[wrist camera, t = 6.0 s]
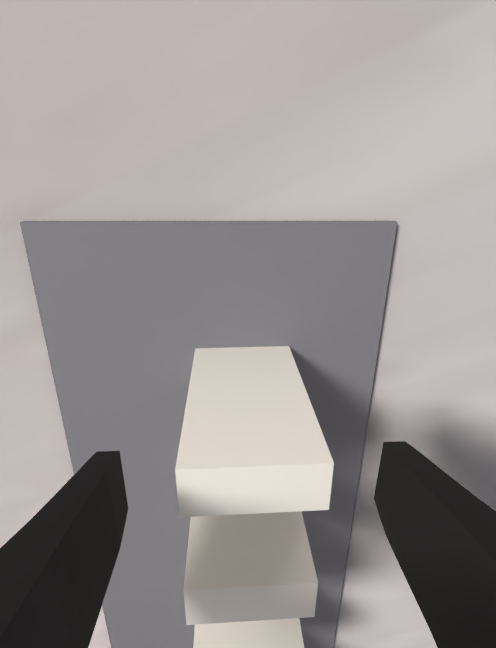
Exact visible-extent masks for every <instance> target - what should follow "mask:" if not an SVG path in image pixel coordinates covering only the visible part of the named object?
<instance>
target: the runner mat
mask: <svg viewBox="0 0 496 648" xmlns="http://www.w3.org/2000/svg"><path fill="white" fill-rule="evenodd" d="M20 224H21V229H22V234H23V238H24V243H25V248H26V252H27V257H28V262H29V266H30V271H31V276H32V280H33V285H34V289H35V294H36V299H37V303H38V308H39V313H40V317H41V322H42V327H43V331H44V336H45V341H46V345H47V350H48V355H49V359H50V364H51V369H52V373H53V378H54V383H55V387H56V392H57V397H58V401H59V406H60V411H61V415H62V420H63V424H64V429H65V434H66V438H67V443H68V448H69V452H70V457H71V462H72V466H73V471H74V474H75V473H76V472H77V471H78V470H79V469H80V468H81V467H82V466H83V465H84V464H85V463H86V462H87V461H88V460H89V459H90V458H91V457H92V455H94V454H95V453H96V452H99V451H120V456H121V463H122V470H123V476H124V483H125V490H126V496H127V503H128V513H127V518H126V523H125V528H124V533H123V537H122V542H121V546H120V550H119V553H118V557H117V560H116V563H115V566H114V569H113V572H112V575H111V579H110V582H109V585H108V588H107V591H106V594H105V597H104V600H103V603H102V606H103V611H104V615H105V620H106V625H107V629H108V634H109V639H110V643H111V648H193V644H194V628H195V625H186V615H185V603H184V592H183V590H184V580H185V569H186V559H187V549H188V539H189V528H190V518H191V517H179V508H178V497H177V486H176V475H175V467H176V461H177V455H178V449H179V443H180V437H181V431H182V425H183V419H184V413H185V407H186V401H187V395H188V389H189V383H190V377H191V371H192V365H193V359H194V353H195V348H230V347H271V346H289V347H290V350H291V352H292V355H293V358H294V360H295V363H296V365H297V368H298V371H299V373H300V376H301V378H302V381H303V384H304V386H305V389H306V391H307V394H308V397H309V399H310V402H311V404H312V407H313V410H314V412H315V415H316V417H317V420H318V423H319V425H320V428H321V430H322V433H323V436H324V438H325V441H326V444H327V446H328V449H329V451H330V454H331V457H332V459H333V462H334V468H333V477H332V486H331V495H330V504H329V510H317V511H302V515H303V520H304V524H305V528H306V532H307V537H308V541H309V545H310V550H311V554H312V558H313V563H314V567H315V571H316V576H317V580H318V589H317V598H316V607H315V616H314V617H308V618H299V619H300V625H301V631H302V637H303V643H304V648H333V647H334V640H335V634H336V627H337V620H338V614H339V607H340V600H341V594H342V587H343V580H344V574H345V567H346V560H347V554H348V547H349V540H350V534H351V527H352V520H353V514H354V507H355V500H356V494H357V487H358V480H359V474H360V467H361V460H362V454H363V447H364V440H365V434H366V427H367V420H368V414H369V407H370V400H371V394H372V387H373V380H374V374H375V367H376V360H377V354H378V347H379V340H380V334H381V327H382V321H383V314H384V307H385V301H386V294H387V287H388V281H389V274H390V267H391V261H392V254H393V247H394V241H395V234H396V227H397V222H396V221H23V222H20Z"/></svg>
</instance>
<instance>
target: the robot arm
mask: <svg viewBox="0 0 496 648" xmlns="http://www.w3.org/2000/svg"><path fill="white" fill-rule="evenodd" d="M374 500H375V503H376V506H377V509H378V512H379V516H380V519H381V522H382V524H383V527H384V530H385V533H386V536H387V538H388V540H389V543H390V545H391V547H392V549H393V551H394V554H395V556H396V558H397V560H398V562H399V564H400V567H401V569H402V571H403V573H404V575H405V577H406V579H407V582H408V584H409V586H410V588H411V590H412V592H413V594H414V596H415V599H416V601H417V603H418V605H419V607H420V609H421V611H422V613H423V616H424V618H425V620H426V622H427V624H428V626H429V628H430V631H431V633H432V635H433V638H434V640H435V642H436V645H437V647H438V648H496V511H494V510H493V509H492V508H490V507H489V506H487V505H486V504H485V503H483V502H482V501H481V500H479V499H478V498H477V497H475V496H474V495H473V494H472V493H470V492H469V491H468V490H466V489H465V488H464V487H463V486H461V485H460V484H459V483H457V482H456V481H455V480H454V479H452V478H451V477H450V476H449V475H447V474H446V473H445V472H444V471H442V470H441V469H440V468H439V467H437V466H436V465H435V464H434V463H432V462H431V461H430V460H429V459H427V458H426V457H425V456H424V455H422V454H421V453H420V452H418V451H417V450H416V449H415V448H413V447H412V446H411V445H409V444H408V443H407V442H405V441H404V442H384V443H383V449H382V455H381V461H380V467H379V472H378V478H377V484H376V490H375V496H374ZM127 513H128V503H127V496H126V490H125V483H124V476H123V470H122V463H121V456H120V451H99V452H96V453H95V454H94V455H92V457H91V458H90V459H89V460H88V461H87V462H86V463H85V464H84V465H83V466H82V467H81V468H80V469H79V470H78V471H77V472H76V473H75V474H74V476H73V477H72V478H71V479H70V480H69V481H68V482H67V483H66V484H65V485H64V486H63V487H62V488H61V489H60V490H59V491H58V492H57V493H56V494H55V496H54V497H53V498H52V499H51V500H50V501H49V502H48V503H47V504H46V505H45V506H44V507H43V508H42V509H41V510H40V511H39V512H38V513H37V514H36V515H35V516H34V517H33V518H32V519H31V520H30V521H29V522H28V523H27V524H26V525H25V526H24V527H23V528H21V529H20V530H19V531H18V532H17V533H16V534H15V535H14V536H13V537H12V538H11V539H10V540H9V541H8V542H7V543H6V544H4V545H3V546H2V547H1V548H0V648H88V646H89V643H90V640H91V637H92V634H93V631H94V628H95V625H96V622H97V618H98V615H99V612H100V609H101V606H102V603H103V600H104V597H105V594H106V591H107V588H108V585H109V582H110V579H111V575H112V572H113V569H114V566H115V563H116V560H117V557H118V553H119V550H120V546H121V542H122V537H123V533H124V528H125V523H126V518H127Z"/></svg>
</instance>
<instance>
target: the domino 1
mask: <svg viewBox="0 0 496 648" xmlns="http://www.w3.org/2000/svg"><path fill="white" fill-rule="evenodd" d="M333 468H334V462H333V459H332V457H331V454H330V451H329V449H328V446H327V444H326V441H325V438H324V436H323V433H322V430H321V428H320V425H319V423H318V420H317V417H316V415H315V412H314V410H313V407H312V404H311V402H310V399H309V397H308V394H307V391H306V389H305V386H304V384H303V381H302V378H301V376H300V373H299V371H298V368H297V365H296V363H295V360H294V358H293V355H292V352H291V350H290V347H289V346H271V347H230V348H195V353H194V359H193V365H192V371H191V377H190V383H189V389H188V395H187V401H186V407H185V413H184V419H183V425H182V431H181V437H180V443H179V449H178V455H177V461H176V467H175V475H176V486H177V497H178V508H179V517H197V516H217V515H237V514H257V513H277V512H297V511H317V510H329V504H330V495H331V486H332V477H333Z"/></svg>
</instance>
